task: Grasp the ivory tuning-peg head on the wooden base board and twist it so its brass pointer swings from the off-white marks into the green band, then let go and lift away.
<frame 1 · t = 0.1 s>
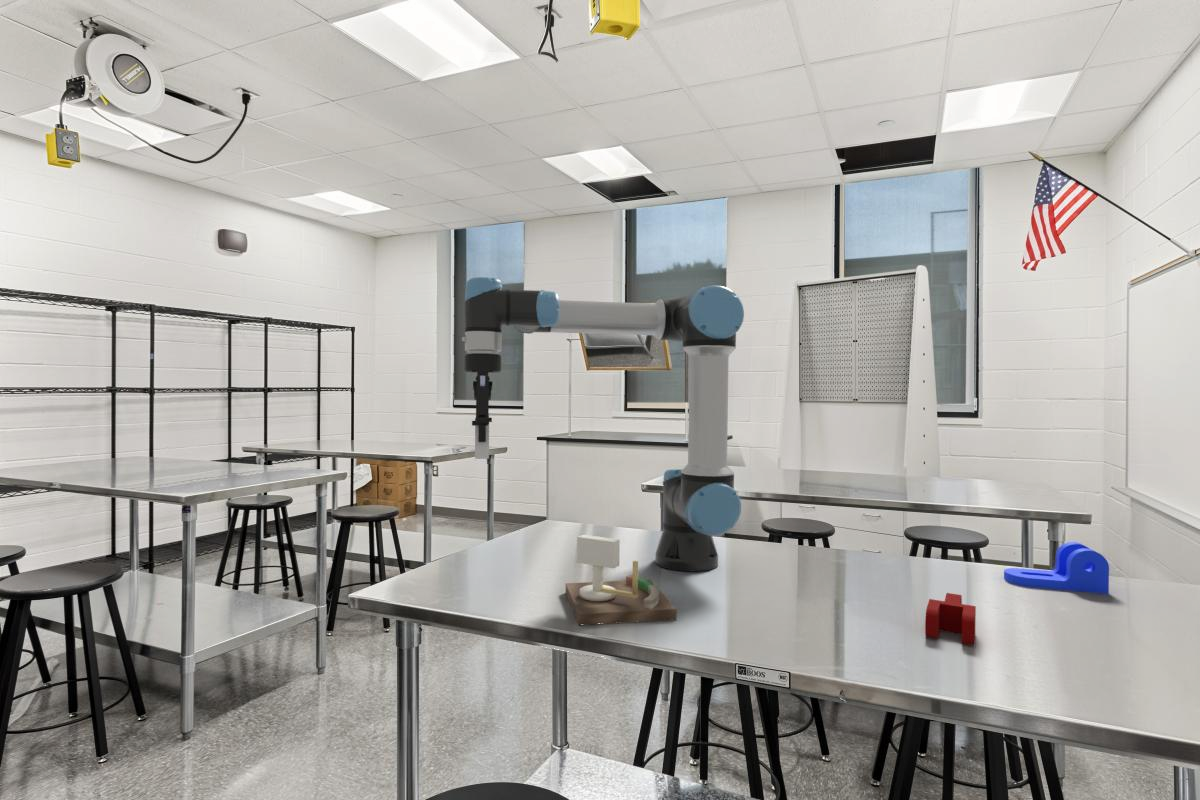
hand: (482, 455, 132), 28 cm above the table, fingers open, 13 cm apart
bracket: (1051, 585, 141), on the table
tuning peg: (608, 568, 121), point 8 cm above the table, hinge at -40.0°
wooden base board: (597, 607, 122), on the table
mechanical linkage: (951, 631, 112), on the table
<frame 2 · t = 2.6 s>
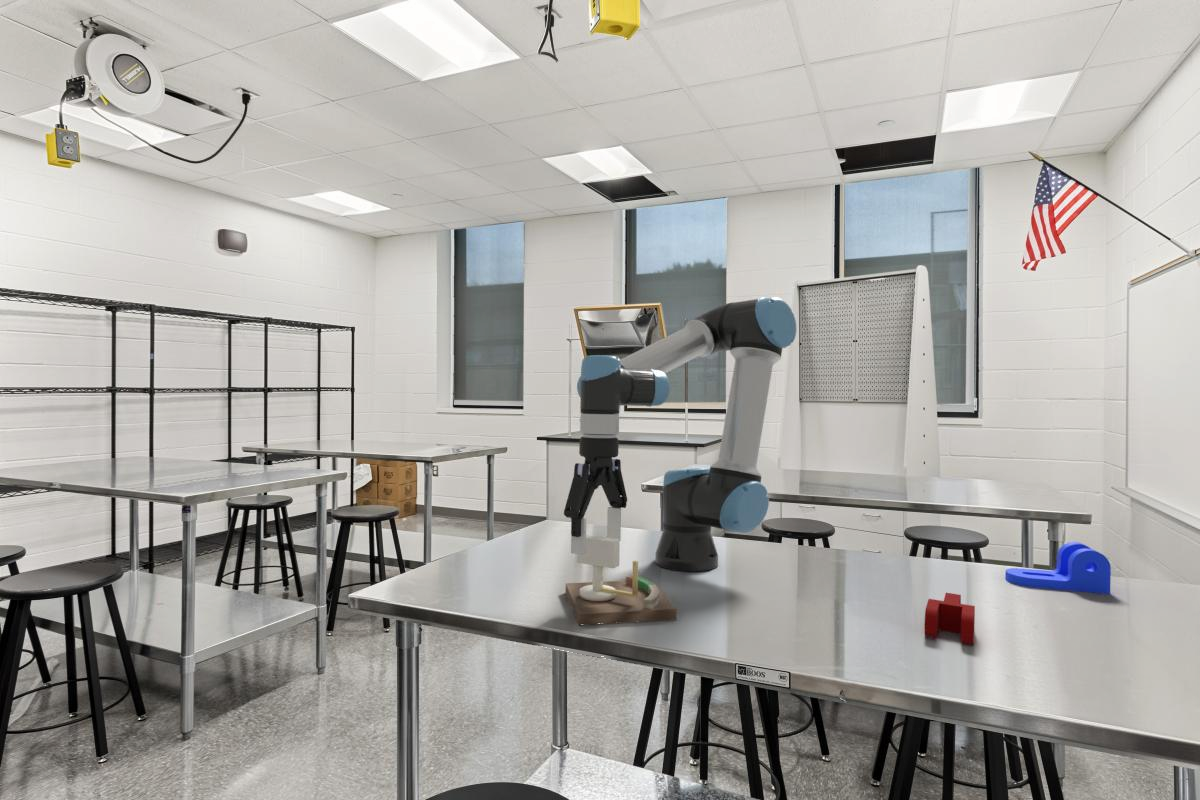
hand: (596, 546, 122), 12 cm above the table, fingers open, 13 cm apart
nothing on the table moved.
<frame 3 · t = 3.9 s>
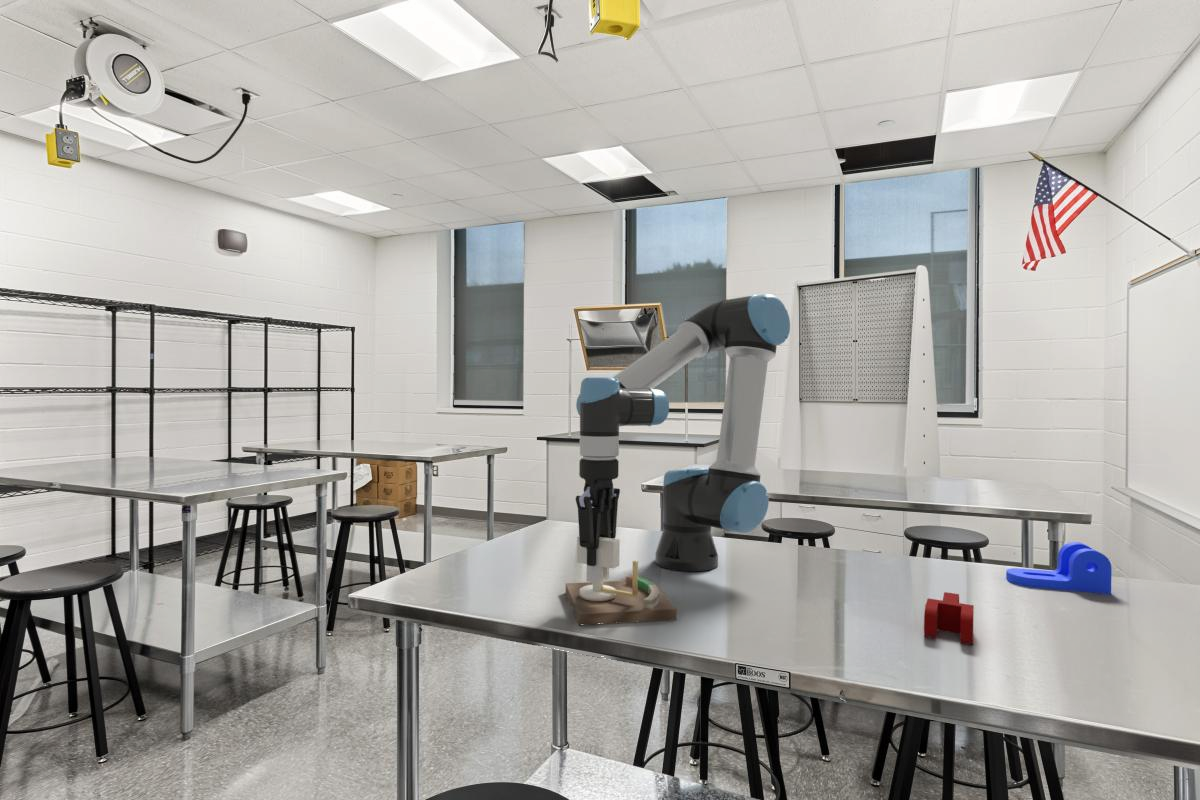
hand: (597, 579, 122), 5 cm above the table, fingers closed on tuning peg, 2 cm apart
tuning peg: (608, 568, 121), point 8 cm above the table, hinge at -40.0°, touching gripper
everything else where it was.
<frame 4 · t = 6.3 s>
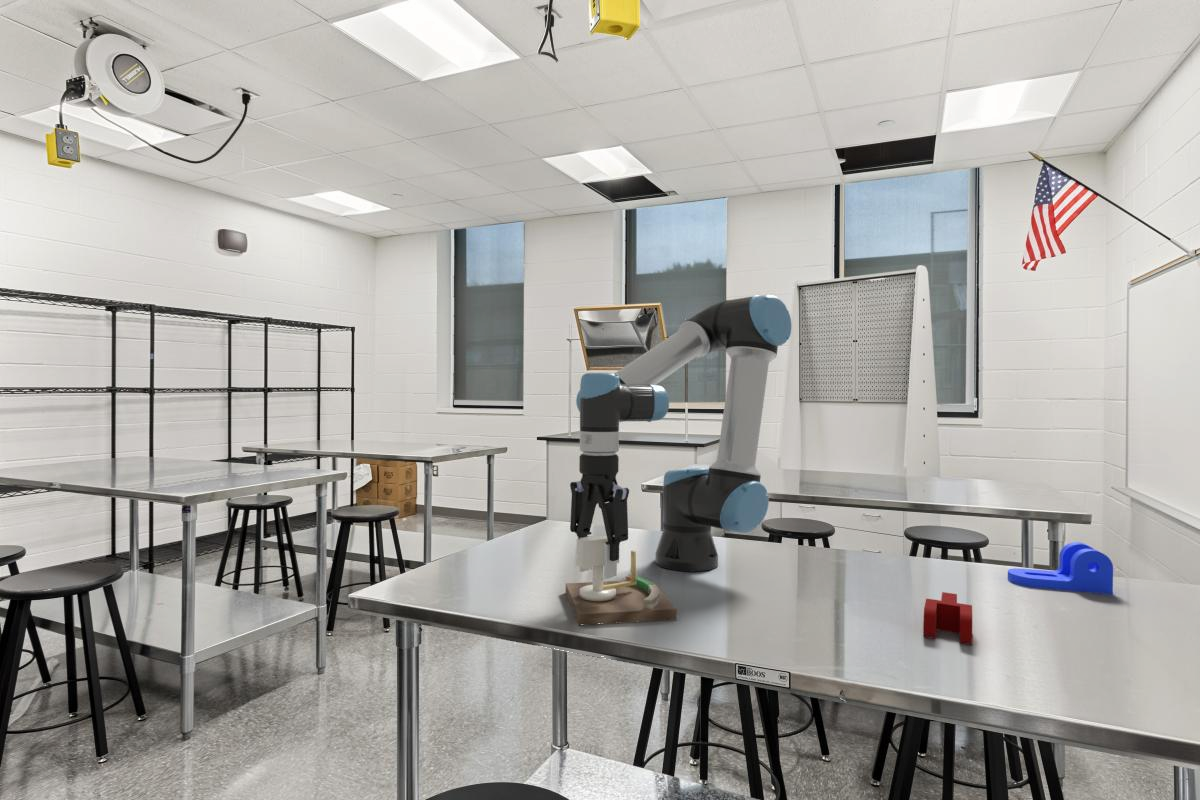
hand: (597, 573, 122), 7 cm above the table, fingers open, 6 cm apart
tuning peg: (608, 565, 123), point 8 cm above the table, hinge at 18.4°
everything else where it was.
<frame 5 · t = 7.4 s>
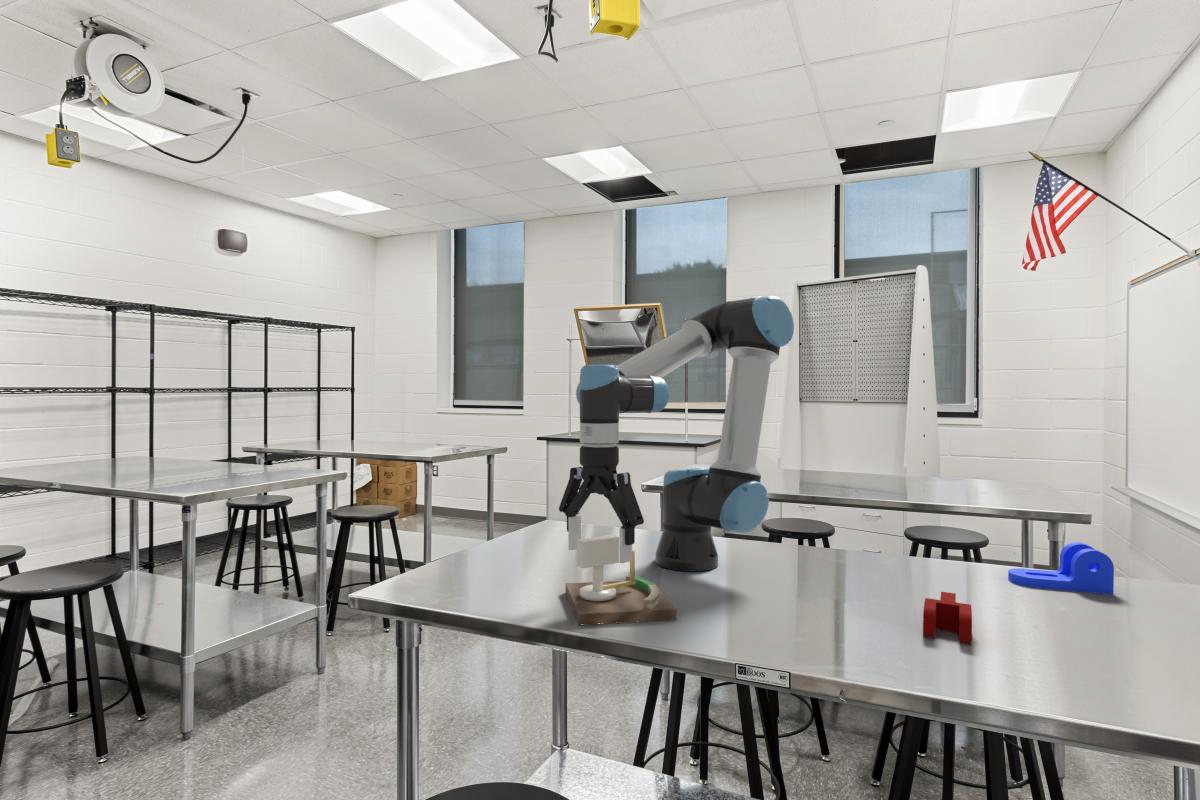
hand: (599, 555, 122), 10 cm above the table, fingers open, 13 cm apart
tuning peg: (607, 565, 123), point 8 cm above the table, hinge at 21.1°
everything else where it was.
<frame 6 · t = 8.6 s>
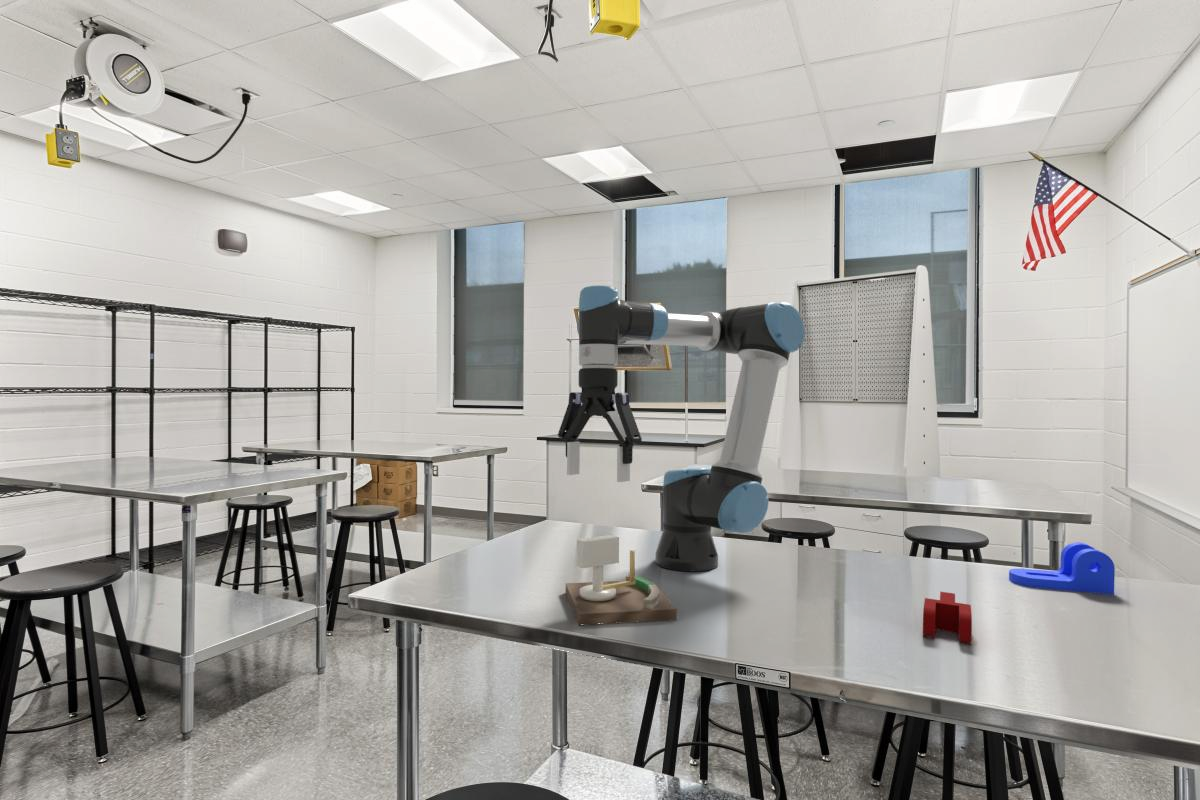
hand: (597, 477, 122), 25 cm above the table, fingers open, 13 cm apart
nothing on the table moved.
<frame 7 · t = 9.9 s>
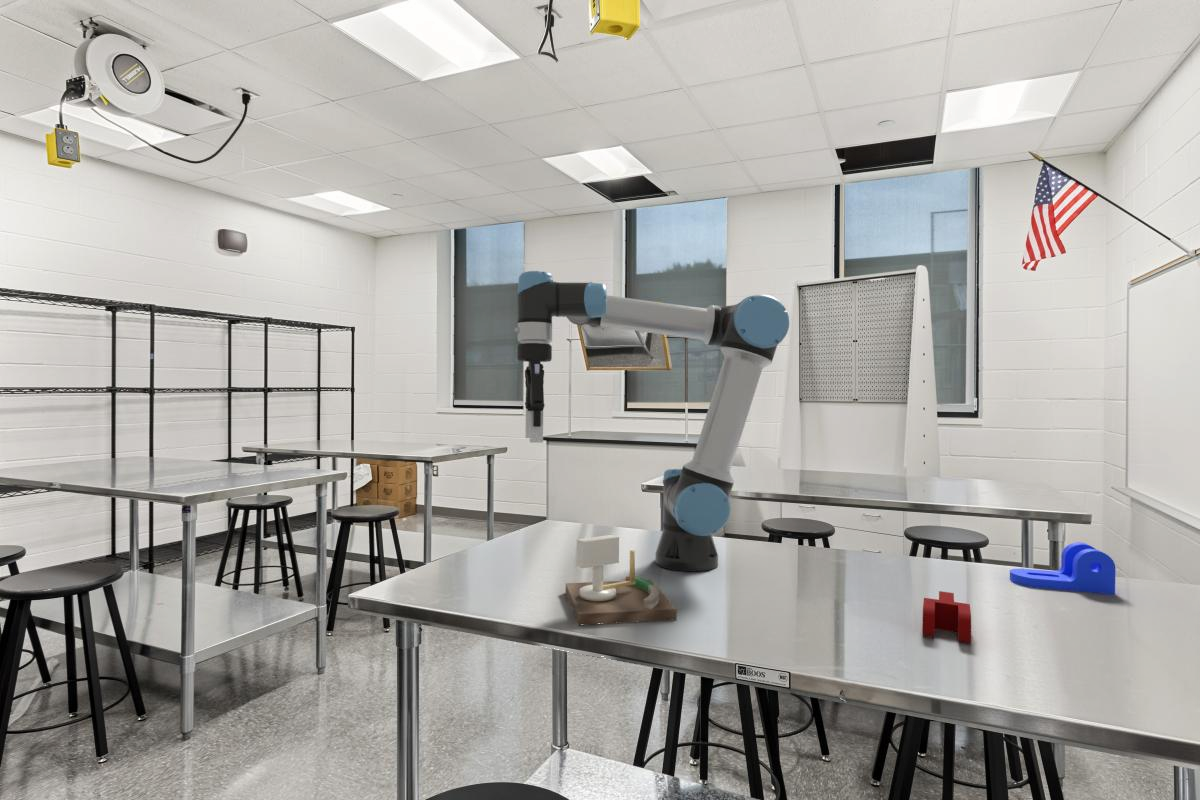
hand: (533, 440, 140), 31 cm above the table, fingers open, 13 cm apart
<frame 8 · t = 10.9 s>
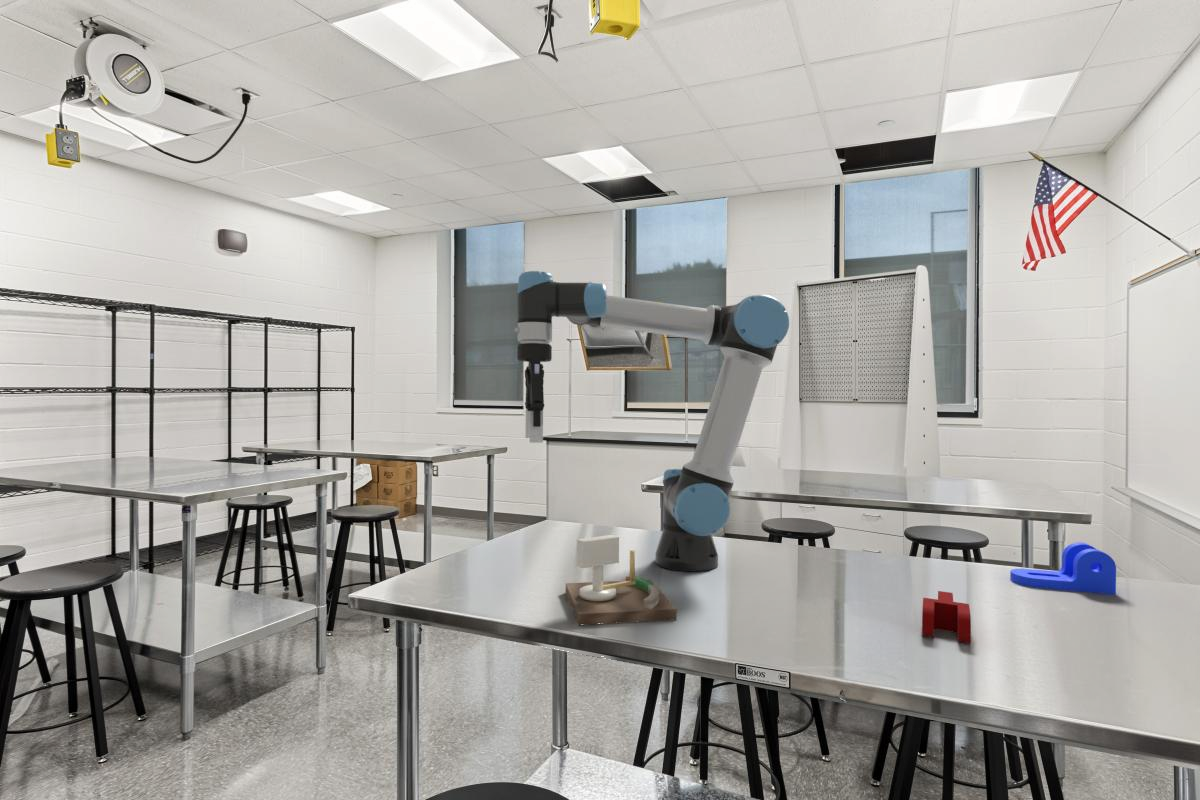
hand: (533, 440, 140), 31 cm above the table, fingers open, 13 cm apart
at the end: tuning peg at +21° (first picture: -40°); the gripper is holding nothing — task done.
